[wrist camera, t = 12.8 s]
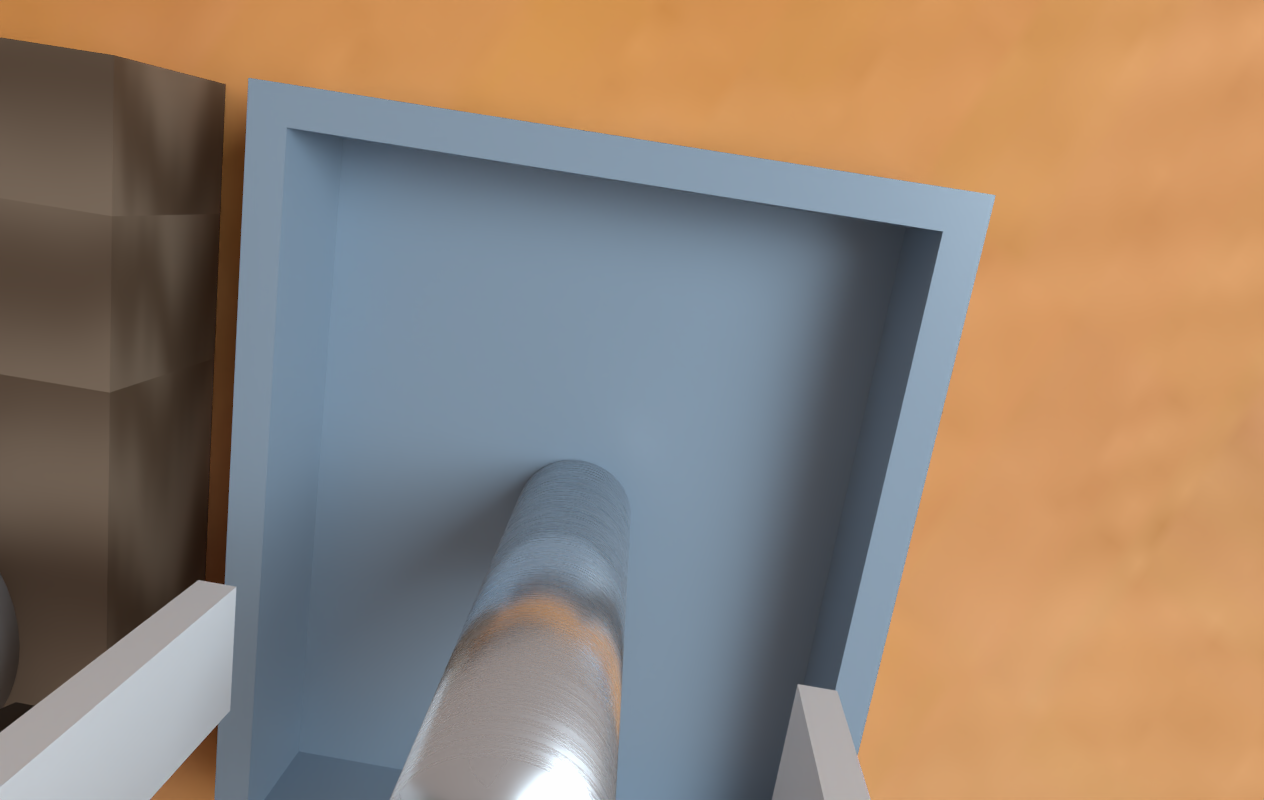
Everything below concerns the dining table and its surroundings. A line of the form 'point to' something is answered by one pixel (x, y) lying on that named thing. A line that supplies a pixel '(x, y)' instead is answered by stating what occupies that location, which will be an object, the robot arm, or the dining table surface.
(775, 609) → the tray
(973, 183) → the dining table surface
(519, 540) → the lock pin
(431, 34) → the dining table surface
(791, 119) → the dining table surface
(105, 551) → the block
